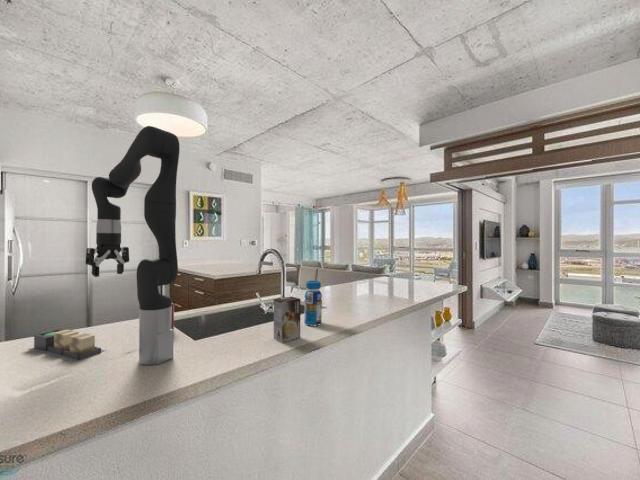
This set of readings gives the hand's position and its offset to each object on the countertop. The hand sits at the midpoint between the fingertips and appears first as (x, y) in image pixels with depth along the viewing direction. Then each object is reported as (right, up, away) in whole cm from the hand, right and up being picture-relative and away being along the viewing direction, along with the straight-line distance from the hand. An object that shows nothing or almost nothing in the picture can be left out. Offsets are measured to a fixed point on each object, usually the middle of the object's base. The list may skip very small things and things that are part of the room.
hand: (108, 275), depth 108 cm
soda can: (+14, -26, +13) cm, 32 cm away
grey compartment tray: (-7, -25, -9) cm, 28 cm away
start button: (-15, -23, -6) cm, 28 cm away
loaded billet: (-8, -24, -9) cm, 27 cm away
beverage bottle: (+76, -27, +28) cm, 85 cm away
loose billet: (0, -25, -12) cm, 28 cm away
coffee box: (+66, -27, +8) cm, 72 cm away
